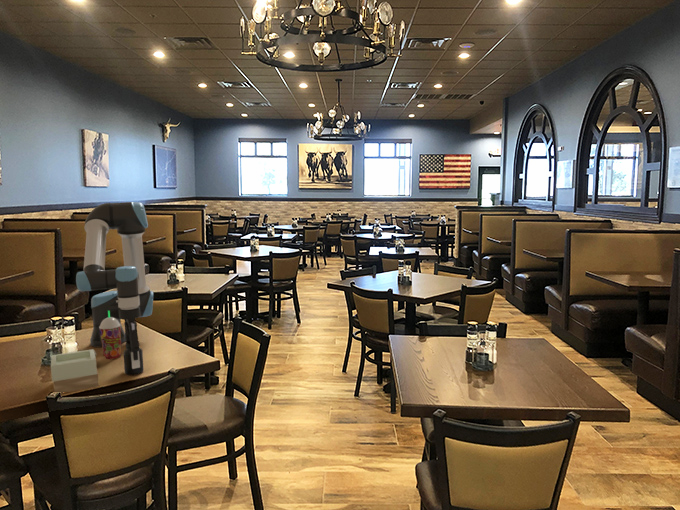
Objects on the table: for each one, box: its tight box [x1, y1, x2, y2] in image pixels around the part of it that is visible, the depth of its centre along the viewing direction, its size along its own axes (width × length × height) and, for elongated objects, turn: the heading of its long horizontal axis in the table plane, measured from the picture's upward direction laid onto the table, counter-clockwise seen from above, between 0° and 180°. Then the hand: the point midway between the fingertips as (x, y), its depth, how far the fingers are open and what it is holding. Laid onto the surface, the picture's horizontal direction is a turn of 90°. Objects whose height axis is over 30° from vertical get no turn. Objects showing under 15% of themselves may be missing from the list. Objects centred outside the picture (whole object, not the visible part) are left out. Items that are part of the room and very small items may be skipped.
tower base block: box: [52, 371, 100, 394], centre depth 188 cm, size 14×14×5 cm
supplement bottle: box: [122, 340, 145, 376], centre depth 198 cm, size 7×7×12 cm
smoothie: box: [99, 311, 122, 360], centre depth 217 cm, size 8×8×20 cm
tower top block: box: [50, 348, 98, 383], centre depth 188 cm, size 14×14×6 cm
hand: (133, 363), depth 199 cm, fingers open, 11 cm apart
